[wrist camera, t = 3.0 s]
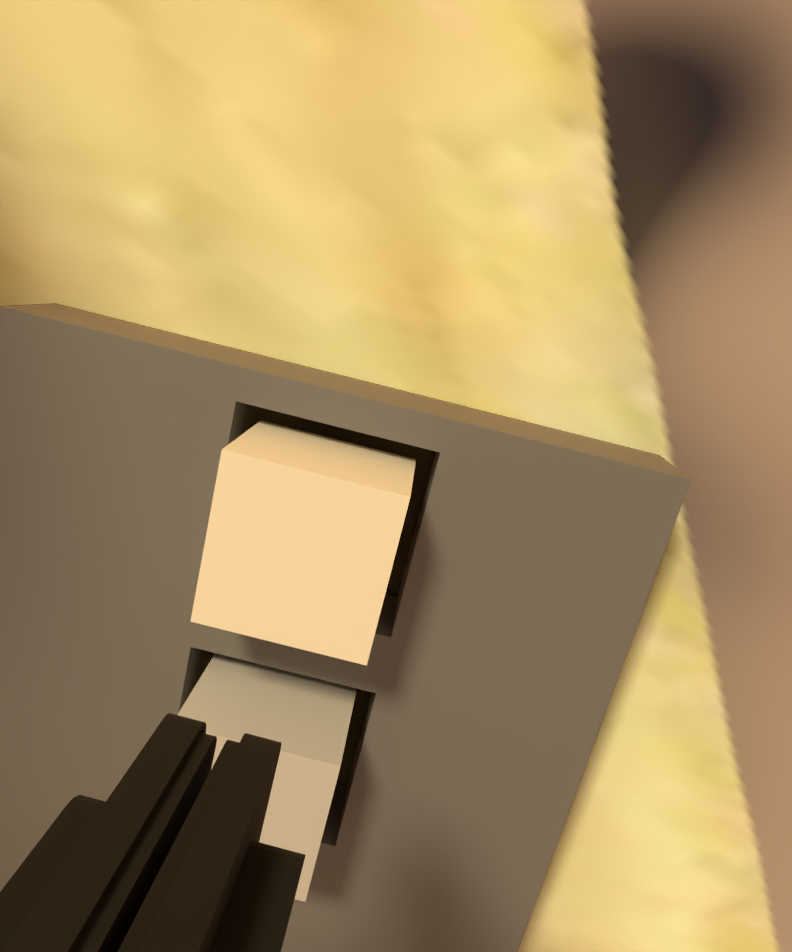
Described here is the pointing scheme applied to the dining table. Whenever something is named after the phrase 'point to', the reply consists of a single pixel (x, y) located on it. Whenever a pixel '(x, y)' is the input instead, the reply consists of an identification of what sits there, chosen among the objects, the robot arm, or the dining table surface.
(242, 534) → the cream button
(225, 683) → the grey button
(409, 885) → the switch panel
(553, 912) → the dining table surface
